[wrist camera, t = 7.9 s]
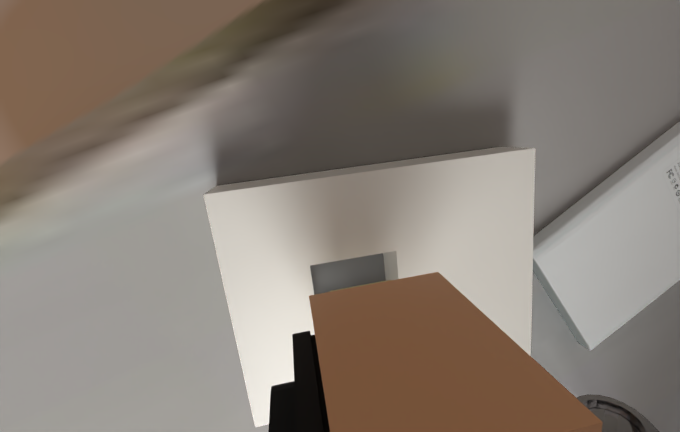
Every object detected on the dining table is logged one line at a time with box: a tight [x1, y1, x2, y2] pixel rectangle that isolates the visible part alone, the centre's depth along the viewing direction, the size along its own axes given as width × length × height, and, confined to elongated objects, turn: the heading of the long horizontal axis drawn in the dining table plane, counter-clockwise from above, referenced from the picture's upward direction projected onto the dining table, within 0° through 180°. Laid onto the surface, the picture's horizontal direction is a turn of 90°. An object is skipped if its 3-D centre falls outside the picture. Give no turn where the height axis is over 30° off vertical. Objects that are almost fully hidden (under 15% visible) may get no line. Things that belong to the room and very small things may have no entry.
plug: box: [309, 272, 603, 432], centre depth 9 cm, size 4×5×8 cm
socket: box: [203, 147, 535, 427], centre depth 16 cm, size 14×11×2 cm
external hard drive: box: [533, 121, 680, 350], centre depth 19 cm, size 2×8×12 cm
